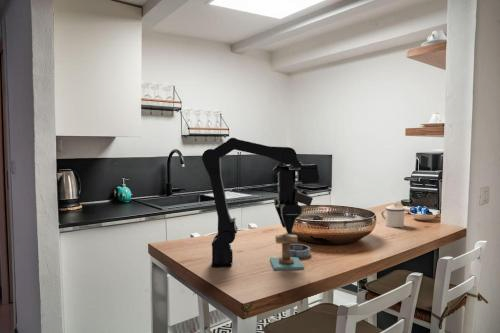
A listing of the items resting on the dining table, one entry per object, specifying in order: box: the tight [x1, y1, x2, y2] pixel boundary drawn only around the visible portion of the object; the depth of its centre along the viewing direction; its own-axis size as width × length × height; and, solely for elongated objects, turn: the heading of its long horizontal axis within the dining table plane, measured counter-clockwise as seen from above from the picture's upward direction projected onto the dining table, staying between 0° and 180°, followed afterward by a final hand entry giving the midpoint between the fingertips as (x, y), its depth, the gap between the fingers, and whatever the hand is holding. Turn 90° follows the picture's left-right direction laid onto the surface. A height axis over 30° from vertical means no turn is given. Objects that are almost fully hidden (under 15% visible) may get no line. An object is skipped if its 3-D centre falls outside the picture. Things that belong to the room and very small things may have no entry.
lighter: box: [310, 213, 324, 221], centre depth 156 cm, size 8×3×10 cm, turn 47°
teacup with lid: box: [380, 202, 406, 228], centre depth 179 cm, size 12×9×12 cm
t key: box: [275, 234, 299, 265], centre depth 121 cm, size 7×5×9 cm
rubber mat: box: [269, 257, 305, 271], centre depth 121 cm, size 10×10×1 cm
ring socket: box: [290, 243, 311, 259], centre depth 132 cm, size 10×10×2 cm
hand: (286, 230), depth 120 cm, fingers open, 9 cm apart
